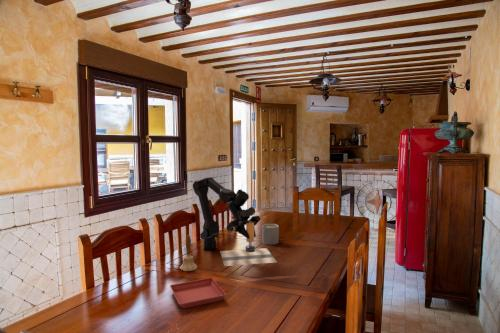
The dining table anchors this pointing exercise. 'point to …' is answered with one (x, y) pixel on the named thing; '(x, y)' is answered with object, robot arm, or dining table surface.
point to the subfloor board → (247, 257)
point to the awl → (251, 234)
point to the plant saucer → (197, 292)
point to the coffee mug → (270, 234)
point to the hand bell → (188, 258)
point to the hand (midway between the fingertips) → (252, 237)
